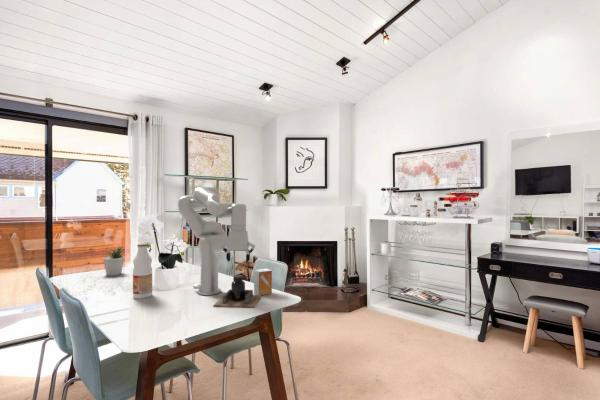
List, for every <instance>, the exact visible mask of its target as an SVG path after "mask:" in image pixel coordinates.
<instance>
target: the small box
mask: <svg viewBox="0 0 600 400" xmlns="http://www.w3.org/2000/svg"><path fill="white" fill-rule="evenodd" d="M272 280H273V271H272V269H269V268H260V269H254V271H253V294H254V295H261V296H265V295H272V293H273V292H272V291H273V288H272V287H273V281H272Z"/></svg>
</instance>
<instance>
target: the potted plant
mask: <svg viewBox="0 0 600 400" xmlns="http://www.w3.org/2000/svg"><path fill="white" fill-rule="evenodd" d="M113 248H114V250H113V249H110V248H109V251H107V252H106V254H107V256H104V257H103V258H102V260H103V262H104V263H103V264H104V269H105V273H106V274H105V275H106V276H108V277H113V276H119V275H121V274H122V271H123V267H124V266H123V265H124V260H125V256H126V254H124V253H122V252H124V250H125V248H123V246H122V244H121V245H120V246H118V247H117V248H116V247H115V246H113Z"/></svg>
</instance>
